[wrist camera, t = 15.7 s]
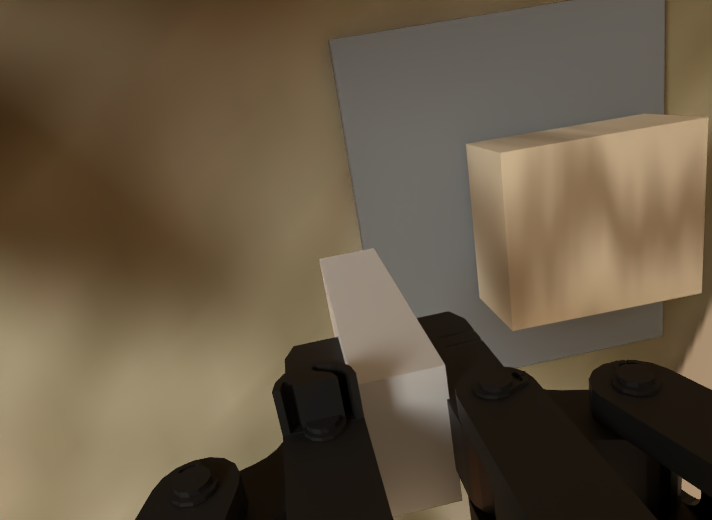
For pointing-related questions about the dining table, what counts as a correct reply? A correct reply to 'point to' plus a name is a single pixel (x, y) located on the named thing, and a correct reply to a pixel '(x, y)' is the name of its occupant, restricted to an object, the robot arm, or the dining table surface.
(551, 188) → the wooden block
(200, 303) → the dining table surface
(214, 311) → the dining table surface
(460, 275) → the mat
